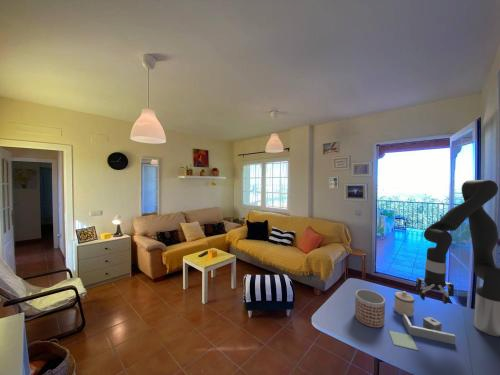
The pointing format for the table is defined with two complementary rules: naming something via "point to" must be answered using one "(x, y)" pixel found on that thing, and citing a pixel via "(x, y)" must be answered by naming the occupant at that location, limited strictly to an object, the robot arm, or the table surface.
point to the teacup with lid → (404, 303)
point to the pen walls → (428, 332)
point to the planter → (370, 308)
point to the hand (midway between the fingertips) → (433, 301)
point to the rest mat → (403, 340)
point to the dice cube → (432, 324)
